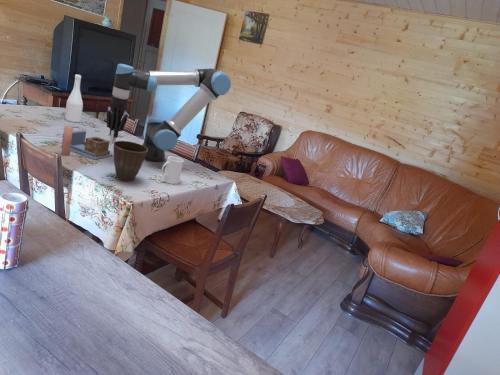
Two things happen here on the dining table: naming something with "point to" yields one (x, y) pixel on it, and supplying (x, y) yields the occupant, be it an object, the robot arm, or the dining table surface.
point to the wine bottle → (74, 103)
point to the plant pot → (128, 159)
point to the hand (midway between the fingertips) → (112, 142)
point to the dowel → (67, 140)
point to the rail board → (83, 146)
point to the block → (97, 146)
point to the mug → (172, 170)
